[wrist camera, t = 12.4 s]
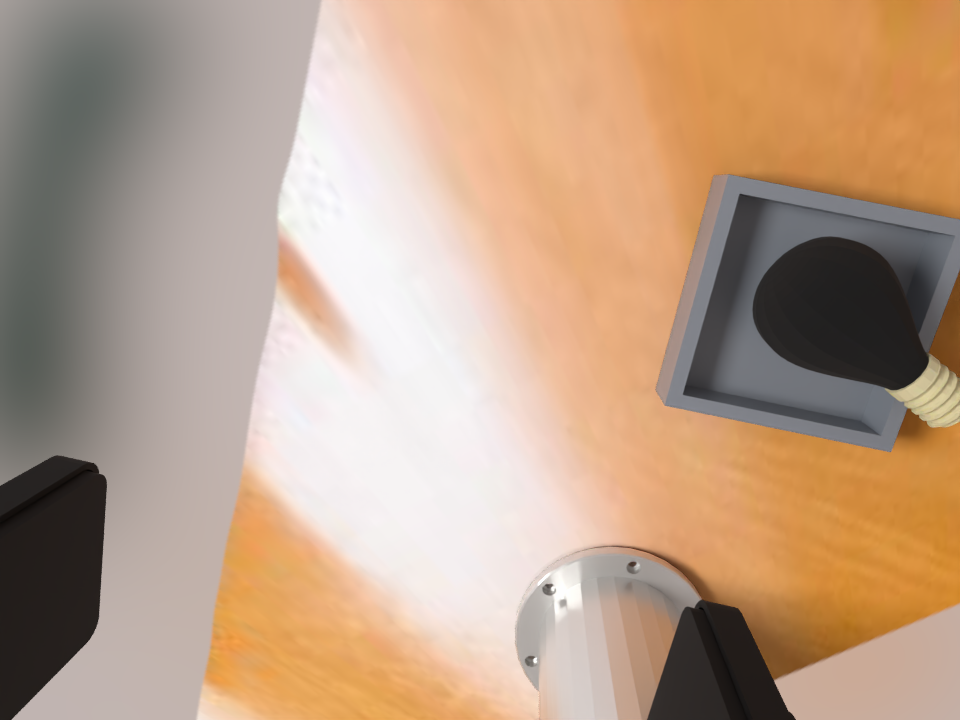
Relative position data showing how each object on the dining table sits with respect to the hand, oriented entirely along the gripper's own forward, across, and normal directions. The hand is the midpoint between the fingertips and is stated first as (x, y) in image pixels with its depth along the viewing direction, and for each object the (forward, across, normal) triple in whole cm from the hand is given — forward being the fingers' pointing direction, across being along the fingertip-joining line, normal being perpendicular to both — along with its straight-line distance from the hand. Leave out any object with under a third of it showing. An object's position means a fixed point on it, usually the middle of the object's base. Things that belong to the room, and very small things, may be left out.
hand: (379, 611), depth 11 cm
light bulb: (+28, -20, -2) cm, 34 cm away
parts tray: (+30, -17, -3) cm, 35 cm away
